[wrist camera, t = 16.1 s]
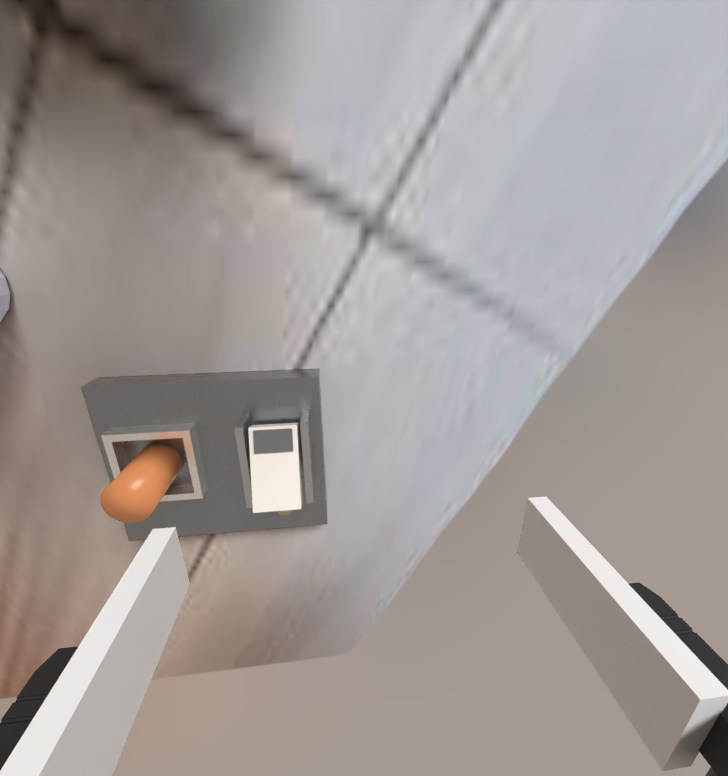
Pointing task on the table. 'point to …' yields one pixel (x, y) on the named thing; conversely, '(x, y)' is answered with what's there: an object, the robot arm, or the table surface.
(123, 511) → the cap
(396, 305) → the table surface
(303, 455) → the breaker panel
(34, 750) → the robot arm
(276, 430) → the block
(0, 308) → the soap bottle
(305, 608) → the table surface
